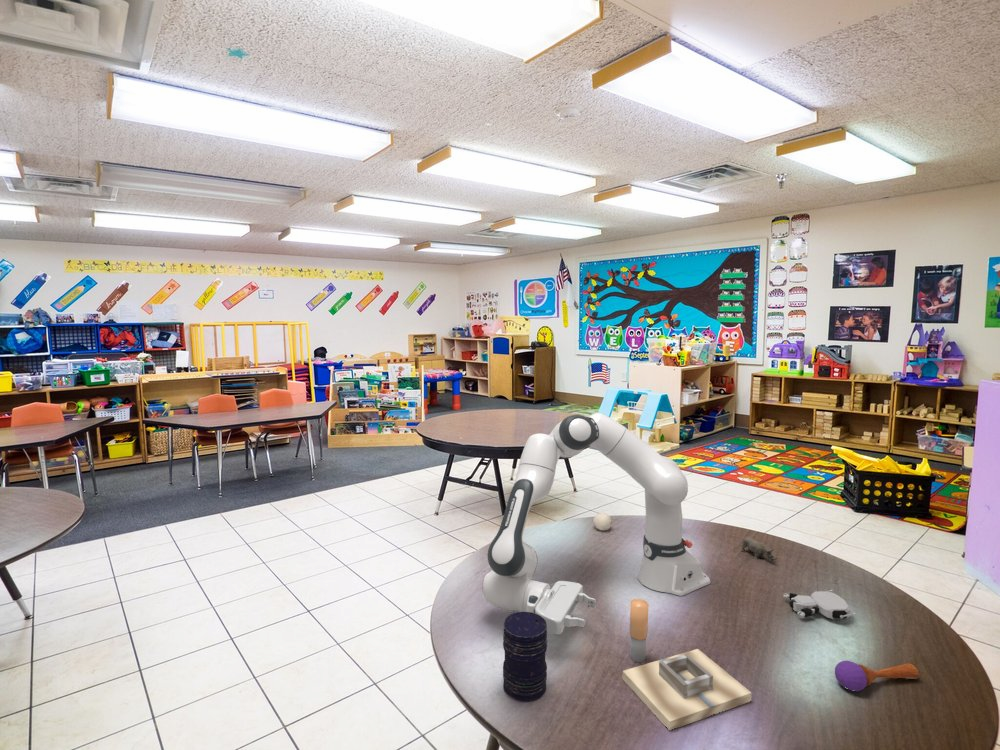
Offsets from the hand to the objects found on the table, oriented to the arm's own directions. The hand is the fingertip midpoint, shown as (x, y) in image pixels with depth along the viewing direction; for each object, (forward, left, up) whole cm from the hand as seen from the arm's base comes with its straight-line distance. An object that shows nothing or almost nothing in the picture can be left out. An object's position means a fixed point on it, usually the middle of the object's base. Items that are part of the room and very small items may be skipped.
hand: (590, 612), depth 128 cm
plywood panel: (-11, +22, -8) cm, 26 cm away
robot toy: (-68, +11, -9) cm, 70 cm away
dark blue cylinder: (+22, +8, -9) cm, 25 cm away
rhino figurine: (-81, -20, -9) cm, 84 cm away
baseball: (-43, -61, -9) cm, 75 cm away
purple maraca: (-54, +36, -9) cm, 65 cm away
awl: (-8, +9, -8) cm, 15 cm away
